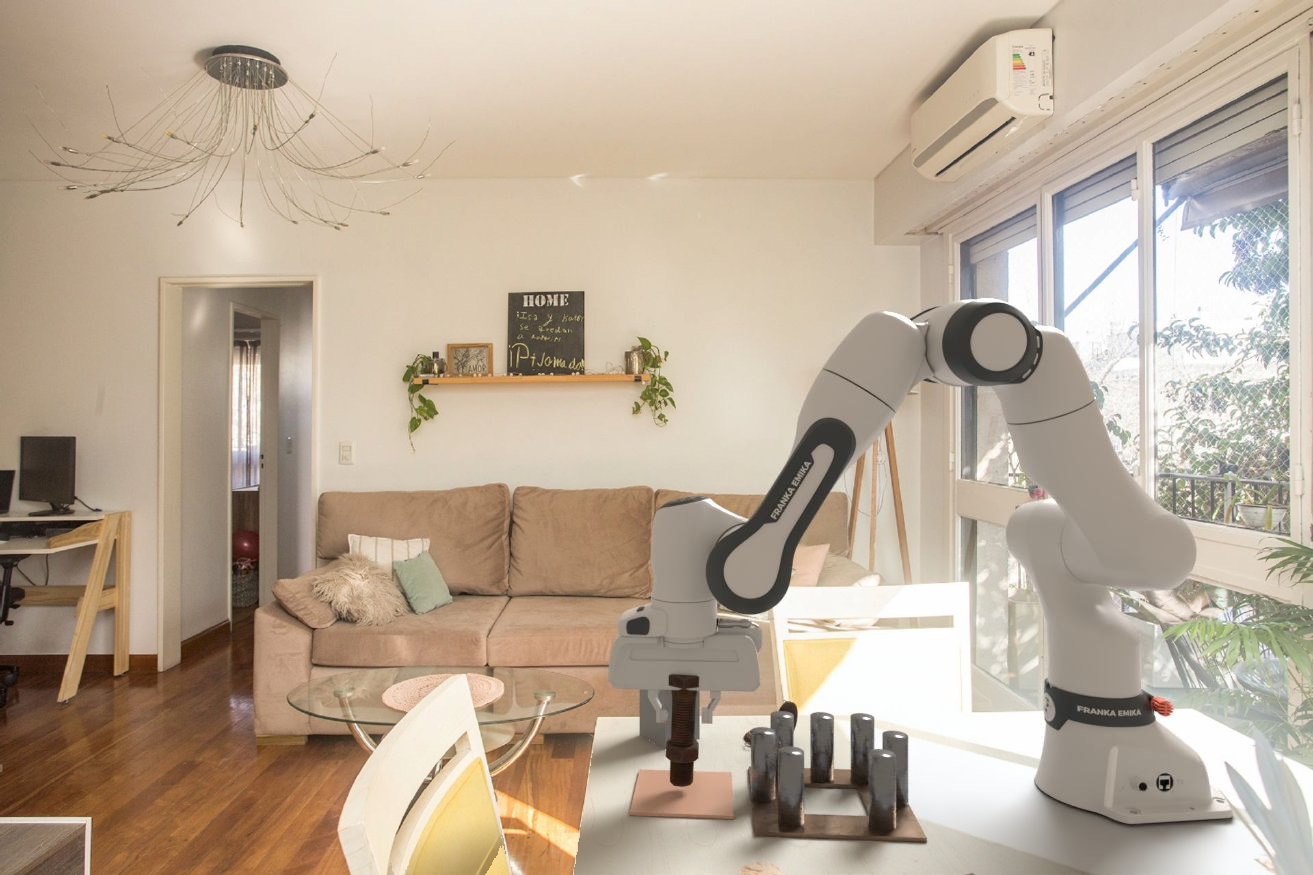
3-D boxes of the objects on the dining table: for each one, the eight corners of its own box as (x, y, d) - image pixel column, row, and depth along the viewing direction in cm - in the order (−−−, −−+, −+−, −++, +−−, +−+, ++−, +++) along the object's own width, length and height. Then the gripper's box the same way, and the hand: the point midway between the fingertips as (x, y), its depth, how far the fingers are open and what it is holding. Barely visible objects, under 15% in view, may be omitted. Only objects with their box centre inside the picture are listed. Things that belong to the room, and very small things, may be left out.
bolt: (700, 794, 102) (704, 678, 102) (661, 791, 102) (665, 676, 102) (700, 775, 108) (703, 665, 108) (663, 773, 108) (666, 663, 108)
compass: (756, 732, 128) (756, 687, 128) (800, 743, 123) (800, 697, 123) (729, 747, 122) (729, 699, 122) (774, 759, 117) (774, 710, 117)
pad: (731, 774, 111) (731, 772, 111) (733, 818, 98) (733, 815, 98) (639, 772, 112) (639, 769, 112) (629, 815, 99) (629, 811, 99)
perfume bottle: (639, 738, 125) (639, 624, 125) (673, 729, 129) (673, 619, 129) (665, 751, 120) (665, 632, 120) (699, 741, 124) (699, 626, 124)
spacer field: (891, 774, 111) (891, 710, 112) (927, 841, 93) (927, 765, 93) (747, 769, 113) (747, 706, 113) (754, 835, 94) (754, 759, 94)
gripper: (761, 613, 108) (761, 715, 108) (612, 612, 109) (612, 712, 109) (763, 624, 101) (764, 732, 101) (606, 622, 103) (606, 728, 103)
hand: (684, 721), depth 105 cm, fingers closed on bolt, 5 cm apart
